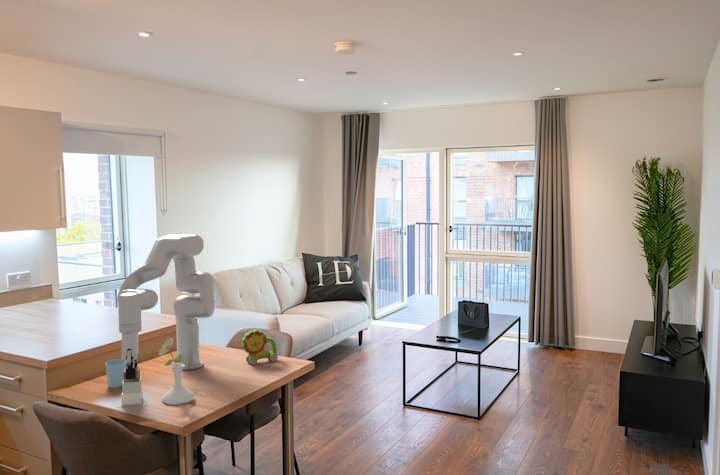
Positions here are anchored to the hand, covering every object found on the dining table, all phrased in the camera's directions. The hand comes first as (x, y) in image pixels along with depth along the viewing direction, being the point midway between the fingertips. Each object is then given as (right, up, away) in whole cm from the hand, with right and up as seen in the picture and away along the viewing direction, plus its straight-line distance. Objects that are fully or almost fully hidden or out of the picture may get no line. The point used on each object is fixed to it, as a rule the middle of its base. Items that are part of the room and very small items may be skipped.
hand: (131, 375), depth 205 cm
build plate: (0, -11, +1) cm, 11 cm away
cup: (-13, -9, +18) cm, 24 cm away
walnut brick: (0, -2, 0) cm, 2 cm away
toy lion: (+37, -7, +51) cm, 64 cm away
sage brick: (0, -6, +1) cm, 6 cm away
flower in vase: (+16, -11, +2) cm, 19 cm away
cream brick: (0, -10, +1) cm, 10 cm away
